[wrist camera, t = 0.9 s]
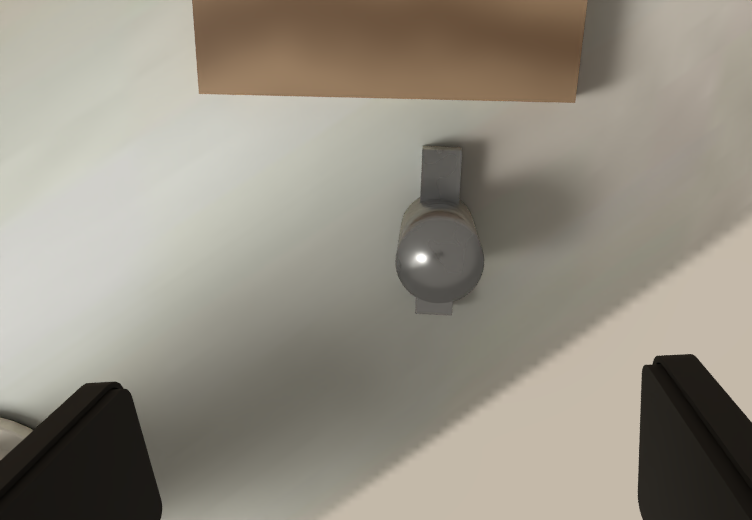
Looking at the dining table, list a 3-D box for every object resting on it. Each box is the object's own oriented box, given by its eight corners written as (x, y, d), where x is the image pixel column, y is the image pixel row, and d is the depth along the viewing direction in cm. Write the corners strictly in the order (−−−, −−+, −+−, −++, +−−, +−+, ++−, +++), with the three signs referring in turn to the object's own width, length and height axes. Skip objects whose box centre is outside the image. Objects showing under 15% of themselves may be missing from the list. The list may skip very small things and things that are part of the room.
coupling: (468, 305, 33) (476, 354, 28) (398, 302, 34) (392, 349, 28) (479, 147, 31) (491, 165, 25) (403, 145, 31) (398, 161, 25)
